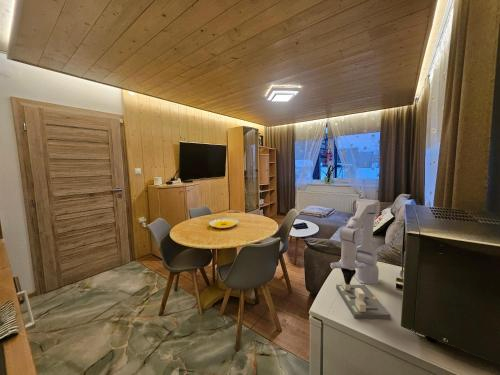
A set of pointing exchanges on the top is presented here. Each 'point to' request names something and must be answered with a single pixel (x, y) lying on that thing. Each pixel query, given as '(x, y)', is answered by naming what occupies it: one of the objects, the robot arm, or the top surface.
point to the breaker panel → (372, 304)
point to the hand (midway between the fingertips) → (347, 283)
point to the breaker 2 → (360, 304)
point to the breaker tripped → (359, 293)
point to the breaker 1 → (345, 285)
